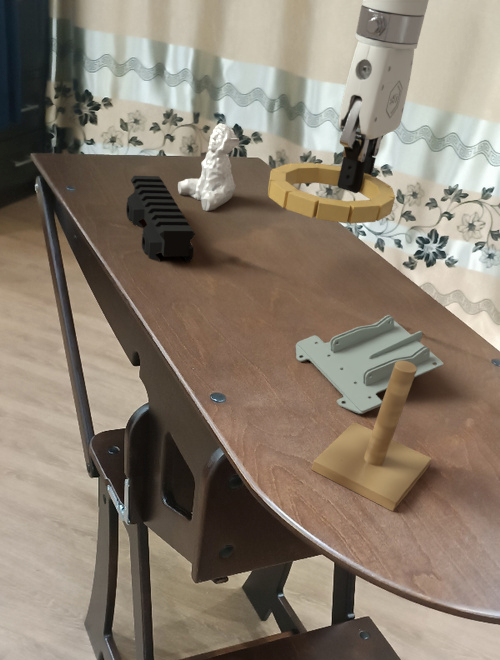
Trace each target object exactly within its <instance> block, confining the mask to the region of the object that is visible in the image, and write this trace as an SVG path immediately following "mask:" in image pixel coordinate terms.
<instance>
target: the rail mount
mask: <svg viewBox="0 0 500 660" xmlns="http://www.w3.org/2000/svg"><path fill="white" fill-rule="evenodd" d="M130 183H131V184H132V185H133V192H132V193H131V194H130V195H129V196H128V197H127V201H126V211H125V212H126V218H127V219H129V220H128V221H129V222H131V221H132V222H131V223H133V224H134V226H136V225H137V227H140V228H142V234H141V249H142V251H143V253H144V254H146V255H147V257H148V259H151V260H154V261H156V262H161V260H160V258H159V256H158V254H159V253H161V255H162V256H163V257H183V259H184V261H185V262H186V263H190V262H192V260H193V259H194V253H195V248H194V246H193V244H192V242H191V241H192V240H193V239H194V237H195V236H196V233H195V231H194V230H193V228H192V227H191V225H190V223H189V221H187V218H186V216H185V215H184V214H183V211H182V210H181V209H180V208H179V205H178V204H177V202H176V201H175V199H174V197H173V196H172V194H171V192H170V191H169V189H168V187H167V185H166V184H165V182H164V181H163V179H162V178H161V177H160V176H159V175H158V176H157V175H155V176H154V175H133V176H132V177H131V179H130ZM142 220H144V221H145V223H146V225H145V226H144V225H143V224H142V222H141V221H142ZM133 224H132V225H133Z"/></svg>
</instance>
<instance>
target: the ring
mask: <svg viewBox="0 0 500 660" xmlns="http://www.w3.org/2000/svg"><path fill="white" fill-rule="evenodd" d="M341 166H342V165H341ZM341 166H340V165H333V164H327V163H319V162H316V163H314V162H296V163H295V162H293V163H285V164H282V165H280V166H277V167H275V168H272V169H271V170H270V174H269V180H268V189H267V196H268V198H270V199H271V200H272V201H273V202H275V203H276V204H277V205H279V206H280V207H281V208H283V209H285V210H287V211H290V212H293V213H296V214H299V215H302V216H304V217H308V218H310V219H314V218H315V220H320V221H327V222H335V223H341V224H347V223H349V224H365V223H366V224H367V223H376V222H379V221H381V220H382V219H384V218H386V217H388V216H390V215H391V213H392V211H393V207H394V204H395V200H396V195H395V192H394V189H393V187H392V186H391V185H390V184H388V183H386V182H385V181H383V180H381V179H379V178H378V177H376V176H373V174H372V175H369V174H366V173H364V176H363V181H362V185H361V189H360V191H359V192H358V193H359V194H360V195H363V196H364V197H366V198H367V199H361V200H340V199H334V198H328V197H327V198H326V197H320V196H319V195H315V194H312V193H308V192H305V191H302V190H300V189H298V188H297V187H295V186H294V185H299V184H322V185H329V186H336V187H338V180H339V175H340V171H341Z"/></svg>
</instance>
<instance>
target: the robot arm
mask: <svg viewBox="0 0 500 660" xmlns="http://www.w3.org/2000/svg"><path fill="white" fill-rule="evenodd" d="M429 1H430V0H362V2H361V6H360V11H359V17H358V21H357V27H356V31H355V36H354V39H355V40H357V44H356V47H355V50H354V53H353V57H352V59H351V64H350V67H349V71H348V75H347V79H346V82H345V87H344V90H343V95H342V100H341V105H340V110H339V116H338V128H339V130H340V131H341V132H342V133H341V135H340V138H339V144H340V145H341V146H342V147H343V151H342V162H341V171H340V175H339V180H338V186H337V188H339V189H341V190H345V191H348V192H350V193H354V194H358V193H359V191H360V189H361V185H362V181H363V176H364V173H366V174H369V175H372V176H373V171H374V167H375V163H376V159H377V156H378V154H379V151H380V147H381V144H382V140H383V138H384V136H385V135H387V134H389V133H391V132H394V131H396V130H397V129H398V128H399V127H400V125H401V122H402V118H403V114H404V109H405V104H406V99H407V95H408V90H409V85H410V81H411V76H412V70H413V65H414V63H413V62H414V56H415V49H417V48H418V45H419V40H420V36H421V32H422V28H423V25H424V20H425V15H426V13H427V9H428V5H429ZM358 129H359V130H360V131H358Z"/></svg>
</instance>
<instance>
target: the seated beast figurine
mask: <svg viewBox="0 0 500 660" xmlns="http://www.w3.org/2000/svg"><path fill="white" fill-rule="evenodd" d="M209 137H210V138H209V141H208V147H207V150H208V151H207V153H206V154H205V158H204V159H203V160H202V161H201V163H200V164H201V175H200V177H199V178H191V177H190V178H185V179H184V180H181V181H178V182H177V192H178V194H179V195H182V196H190V197H192V198H194V199H196V201H200V203H201V208H202V210H203V211H205V212H209V211H213V210H214V211H215V210H216V209H217V208H220V206H222V205H224V204H225V203H227V202H228V201H230V200H231V199H232V197H233V194H234V192H235V191H236V187H237V186H236V183H235V179H234V176H233V174H232V163H231V160H230V158H229V156H228V154H230V153H231V152H232V151H233V149H235V148H236V147H238V146H239V144H240V138H239V137H237V135H236V134H235V131H234V129H231V128H230V127H229V126H228V125H226V124H225V123H222V122H220V123H218V124H217V125H215V127H214V128H213V129H212V134H210V135H209Z"/></svg>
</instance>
